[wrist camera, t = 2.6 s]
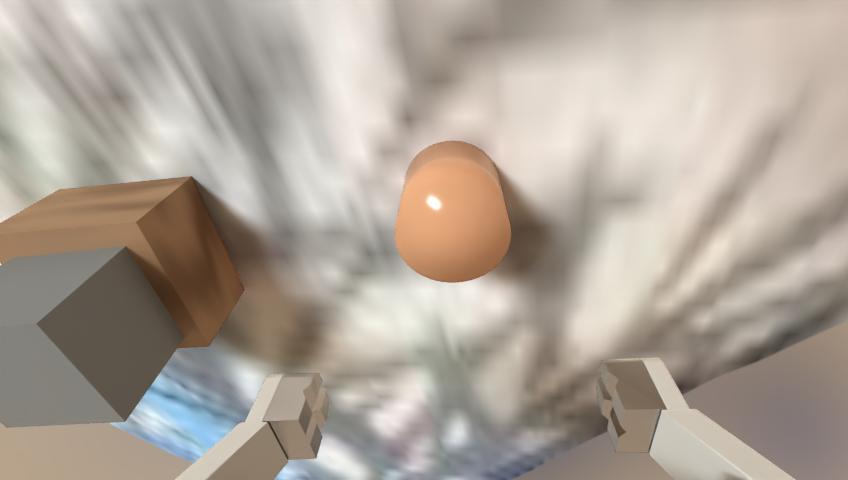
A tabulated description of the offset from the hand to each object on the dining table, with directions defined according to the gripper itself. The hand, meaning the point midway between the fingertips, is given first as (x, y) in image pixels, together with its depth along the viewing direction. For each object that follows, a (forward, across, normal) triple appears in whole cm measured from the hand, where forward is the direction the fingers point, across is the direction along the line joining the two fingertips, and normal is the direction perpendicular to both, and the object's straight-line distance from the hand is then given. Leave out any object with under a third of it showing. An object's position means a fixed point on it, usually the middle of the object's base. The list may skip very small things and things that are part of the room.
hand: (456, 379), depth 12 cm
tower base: (+12, +18, +1) cm, 22 cm away
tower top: (+7, +18, +2) cm, 19 cm away
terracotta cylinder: (+12, 0, -1) cm, 12 cm away
